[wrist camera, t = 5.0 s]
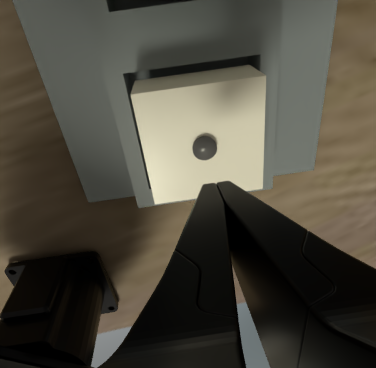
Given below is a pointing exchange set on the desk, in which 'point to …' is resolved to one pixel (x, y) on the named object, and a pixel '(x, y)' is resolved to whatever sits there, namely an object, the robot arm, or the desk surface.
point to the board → (174, 65)
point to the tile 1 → (201, 130)
